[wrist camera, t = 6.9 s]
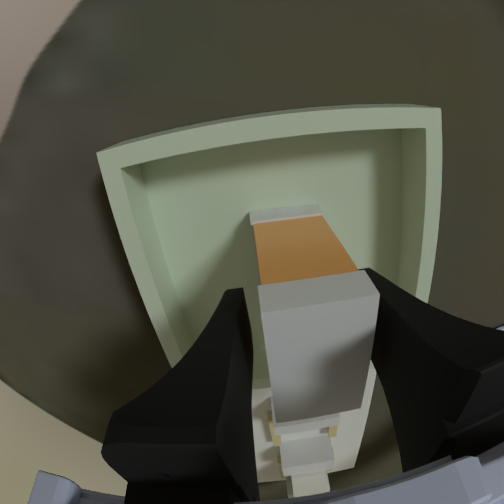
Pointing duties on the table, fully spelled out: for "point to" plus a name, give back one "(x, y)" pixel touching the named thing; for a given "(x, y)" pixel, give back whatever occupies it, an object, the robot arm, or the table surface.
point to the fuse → (309, 483)
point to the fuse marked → (312, 313)
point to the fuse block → (306, 439)
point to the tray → (272, 204)
